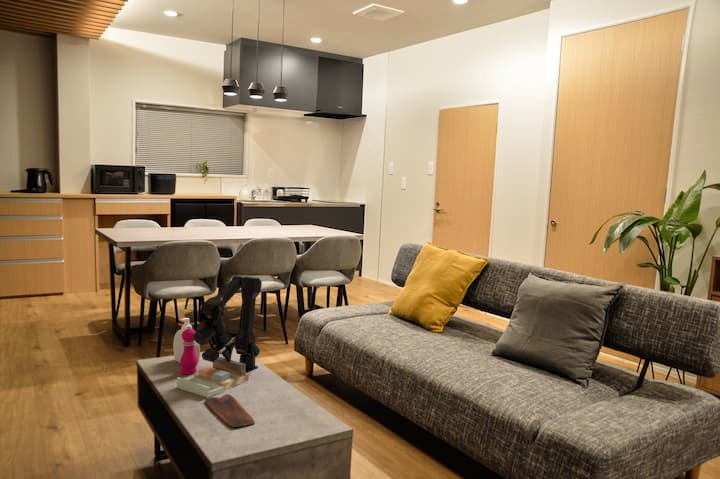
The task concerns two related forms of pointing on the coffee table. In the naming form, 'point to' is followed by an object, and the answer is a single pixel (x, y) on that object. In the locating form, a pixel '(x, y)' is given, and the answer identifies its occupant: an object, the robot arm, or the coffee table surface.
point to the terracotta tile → (206, 371)
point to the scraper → (230, 366)
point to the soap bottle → (178, 342)
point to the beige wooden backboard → (228, 383)
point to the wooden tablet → (230, 410)
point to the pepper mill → (188, 353)
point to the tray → (199, 387)
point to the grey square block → (221, 376)
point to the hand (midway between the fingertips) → (229, 360)
